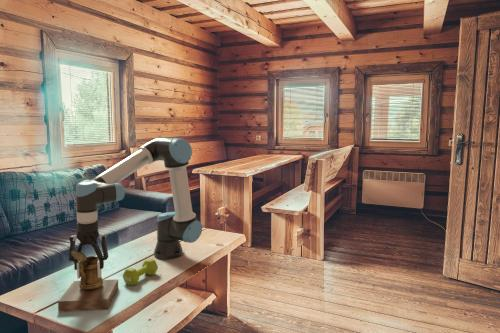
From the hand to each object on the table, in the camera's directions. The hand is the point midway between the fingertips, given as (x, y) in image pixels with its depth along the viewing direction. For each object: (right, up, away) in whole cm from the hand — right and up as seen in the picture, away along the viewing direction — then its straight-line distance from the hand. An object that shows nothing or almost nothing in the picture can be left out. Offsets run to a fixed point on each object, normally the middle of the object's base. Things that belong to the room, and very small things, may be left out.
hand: (89, 276), depth 149 cm
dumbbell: (+14, -8, +21) cm, 27 cm away
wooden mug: (-1, -5, 0) cm, 5 cm away
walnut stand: (0, -9, +1) cm, 9 cm away
